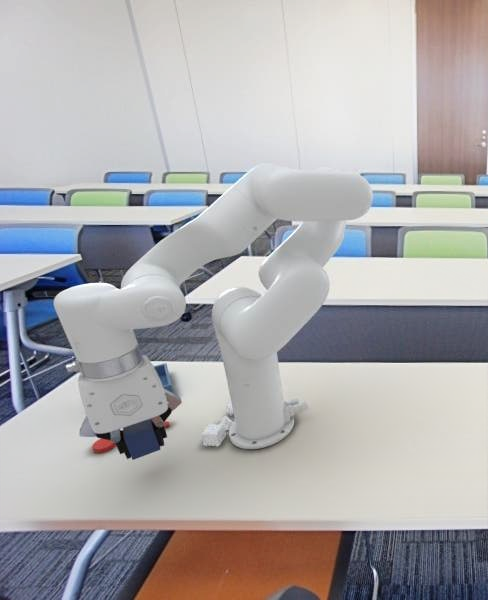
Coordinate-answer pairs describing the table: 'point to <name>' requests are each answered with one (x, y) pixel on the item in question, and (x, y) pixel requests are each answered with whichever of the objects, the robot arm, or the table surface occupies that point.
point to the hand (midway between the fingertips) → (145, 446)
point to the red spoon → (109, 443)
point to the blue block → (141, 439)
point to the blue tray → (164, 376)
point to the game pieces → (217, 429)
